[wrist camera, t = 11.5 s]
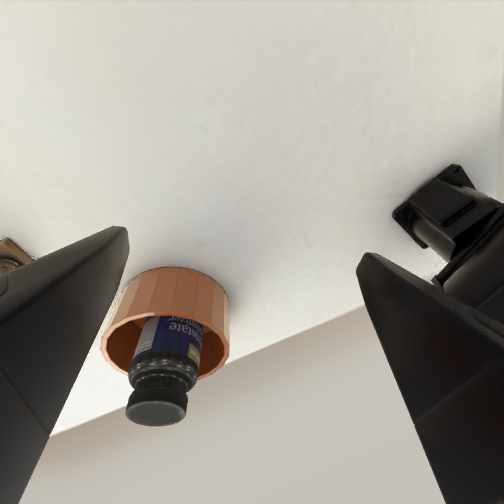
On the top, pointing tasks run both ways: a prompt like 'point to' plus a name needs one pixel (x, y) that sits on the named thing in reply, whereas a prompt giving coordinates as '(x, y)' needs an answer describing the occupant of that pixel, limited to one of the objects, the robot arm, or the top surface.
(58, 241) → the top surface
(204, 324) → the bowl
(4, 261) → the figurine
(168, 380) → the pill bottle
